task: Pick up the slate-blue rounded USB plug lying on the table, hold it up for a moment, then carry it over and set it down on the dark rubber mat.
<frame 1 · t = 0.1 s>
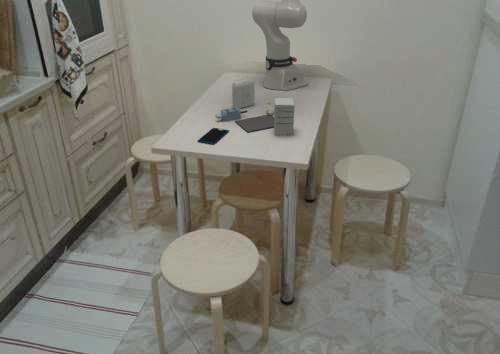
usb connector: (230, 118, 197), on the table
white connector: (270, 112, 203), on the table
rubber mat: (259, 123, 192), on the table
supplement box: (283, 132, 185), on the table
photo printer: (243, 106, 210), on the table
cell phone: (213, 137, 182), on the table
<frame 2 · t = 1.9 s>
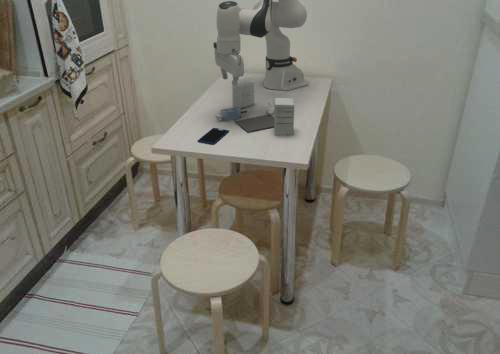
hand: (229, 81, 189), 16 cm above the table, tool pointing down, fingers open, 8 cm apart
nothing on the table moved.
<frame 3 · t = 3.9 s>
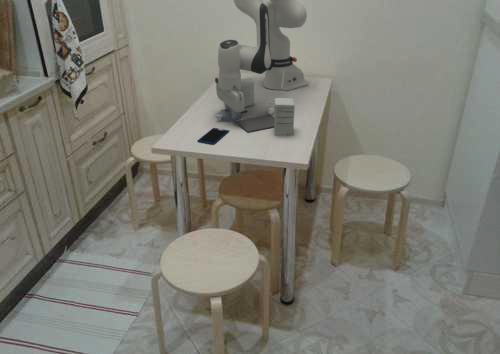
hand: (230, 115, 196), 2 cm above the table, tool pointing down, fingers closed on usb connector, 4 cm apart
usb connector: (230, 118, 197), on the table, touching gripper
everything else where it was.
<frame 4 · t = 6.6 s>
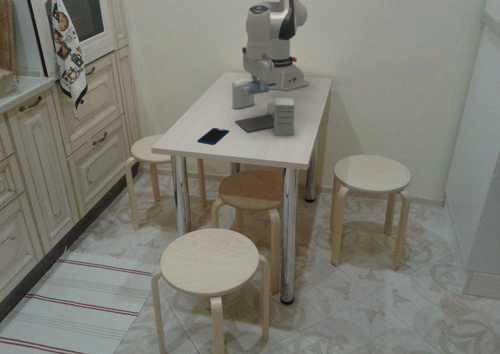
hand: (258, 87, 185), 15 cm above the table, tool pointing down, fingers closed on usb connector, 4 cm apart
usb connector: (258, 91, 185), point 14 cm above the table, touching gripper
everything else where it was.
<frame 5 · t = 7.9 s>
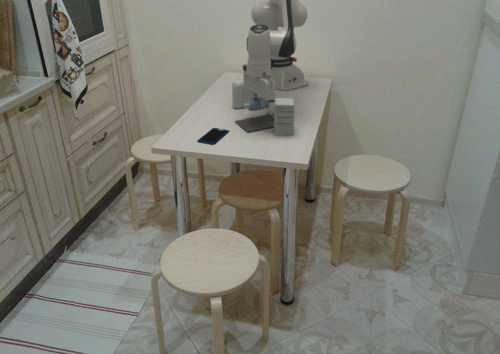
hand: (259, 104, 188), 8 cm above the table, tool pointing down, fingers closed on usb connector, 4 cm apart
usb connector: (258, 108, 188), point 7 cm above the table, touching gripper
everything else where it was.
when the fingers open (3 cm above the table, at t = 9.2 s): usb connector stays where it is, resting on rubber mat.
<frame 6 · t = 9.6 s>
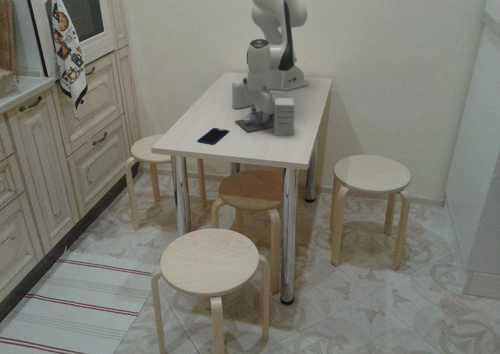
hand: (259, 116, 191), 3 cm above the table, tool pointing down, fingers open, 8 cm apart
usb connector: (258, 122, 192), point 1 cm above the table, touching rubber mat
everything else where it was.
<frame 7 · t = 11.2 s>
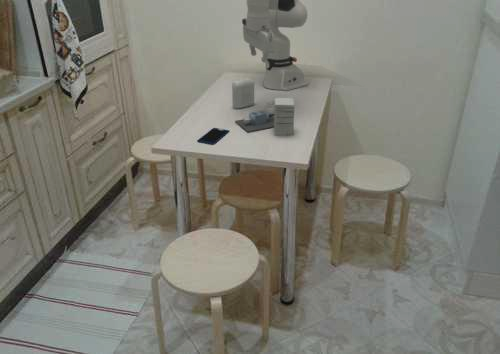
hand: (258, 58, 190), 24 cm above the table, tool pointing down, fingers open, 8 cm apart
nothing on the table moved.
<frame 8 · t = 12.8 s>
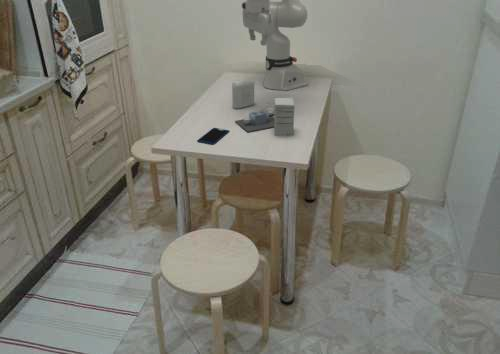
hand: (258, 42, 190), 29 cm above the table, tool pointing down, fingers open, 8 cm apart
nothing on the table moved.
at the end: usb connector inside the target area on the rubber mat (0.0 cm from its centre), point 0.6 cm above the rubber mat's base; the gripper is holding nothing; white connector moved 0.4 cm from its start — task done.
